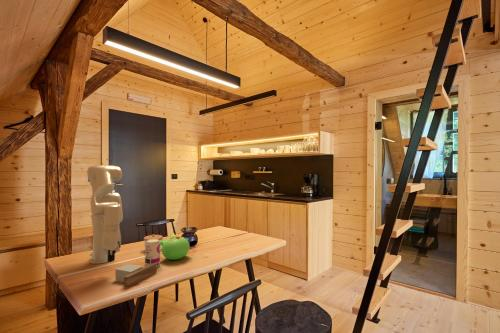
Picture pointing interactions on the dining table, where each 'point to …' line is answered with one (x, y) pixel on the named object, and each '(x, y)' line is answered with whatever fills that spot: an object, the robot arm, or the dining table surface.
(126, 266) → the brick
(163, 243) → the green round body
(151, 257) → the supplement can
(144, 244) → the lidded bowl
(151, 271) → the fence
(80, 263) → the dining table surface
